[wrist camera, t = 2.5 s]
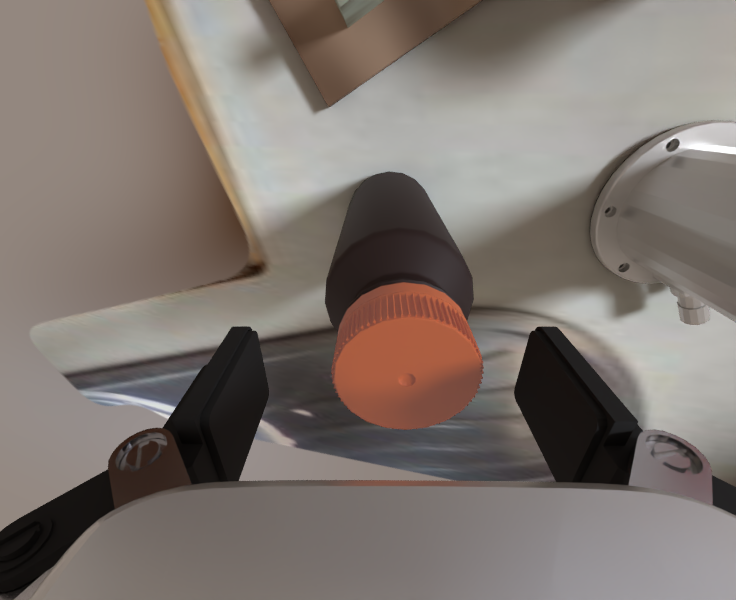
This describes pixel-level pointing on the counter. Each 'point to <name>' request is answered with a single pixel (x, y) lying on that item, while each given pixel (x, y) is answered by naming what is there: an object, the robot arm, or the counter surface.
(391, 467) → the counter surface
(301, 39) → the u rest
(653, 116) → the counter surface
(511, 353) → the counter surface
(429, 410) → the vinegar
